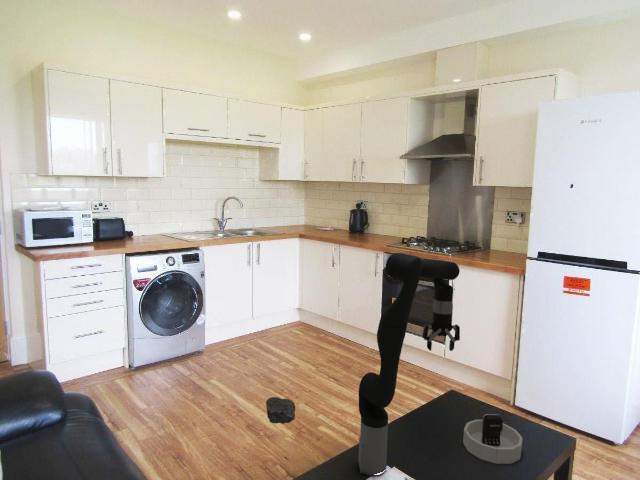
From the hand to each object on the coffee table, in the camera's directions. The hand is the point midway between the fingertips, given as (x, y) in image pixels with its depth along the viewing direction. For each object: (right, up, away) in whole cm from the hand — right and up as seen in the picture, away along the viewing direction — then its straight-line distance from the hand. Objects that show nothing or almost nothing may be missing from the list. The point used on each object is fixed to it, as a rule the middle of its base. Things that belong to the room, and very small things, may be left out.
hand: (440, 350), depth 178 cm
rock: (-65, -30, +8) cm, 72 cm away
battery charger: (+16, -33, -10) cm, 38 cm away
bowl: (+17, -34, -11) cm, 39 cm away
